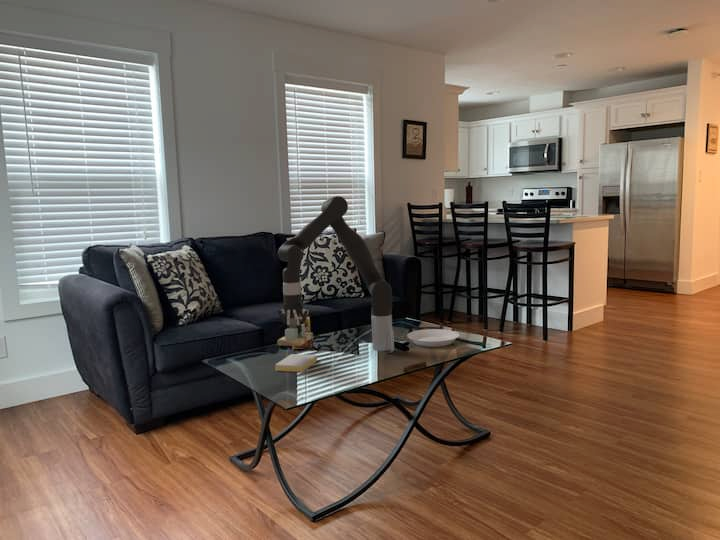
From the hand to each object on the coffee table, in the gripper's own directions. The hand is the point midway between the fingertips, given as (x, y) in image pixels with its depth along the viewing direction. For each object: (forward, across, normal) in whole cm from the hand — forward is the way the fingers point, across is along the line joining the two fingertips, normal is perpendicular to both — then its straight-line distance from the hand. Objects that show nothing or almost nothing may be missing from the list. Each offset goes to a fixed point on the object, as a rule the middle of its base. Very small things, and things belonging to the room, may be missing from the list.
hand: (295, 333), depth 233 cm
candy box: (+16, +11, -31) cm, 36 cm away
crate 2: (+1, 0, -4) cm, 4 cm away
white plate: (+16, -49, -51) cm, 73 cm away
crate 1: (+1, 0, +4) cm, 4 cm away
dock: (+15, 0, 0) cm, 15 cm away
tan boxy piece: (+3, 0, 0) cm, 3 cm away
